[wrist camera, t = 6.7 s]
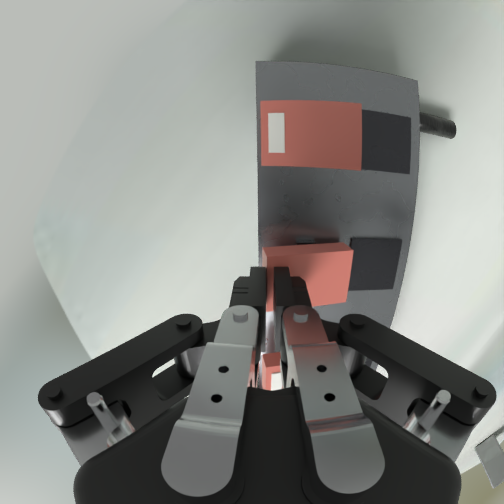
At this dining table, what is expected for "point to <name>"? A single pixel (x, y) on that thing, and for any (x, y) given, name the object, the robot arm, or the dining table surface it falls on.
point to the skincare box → (492, 460)
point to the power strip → (348, 183)
